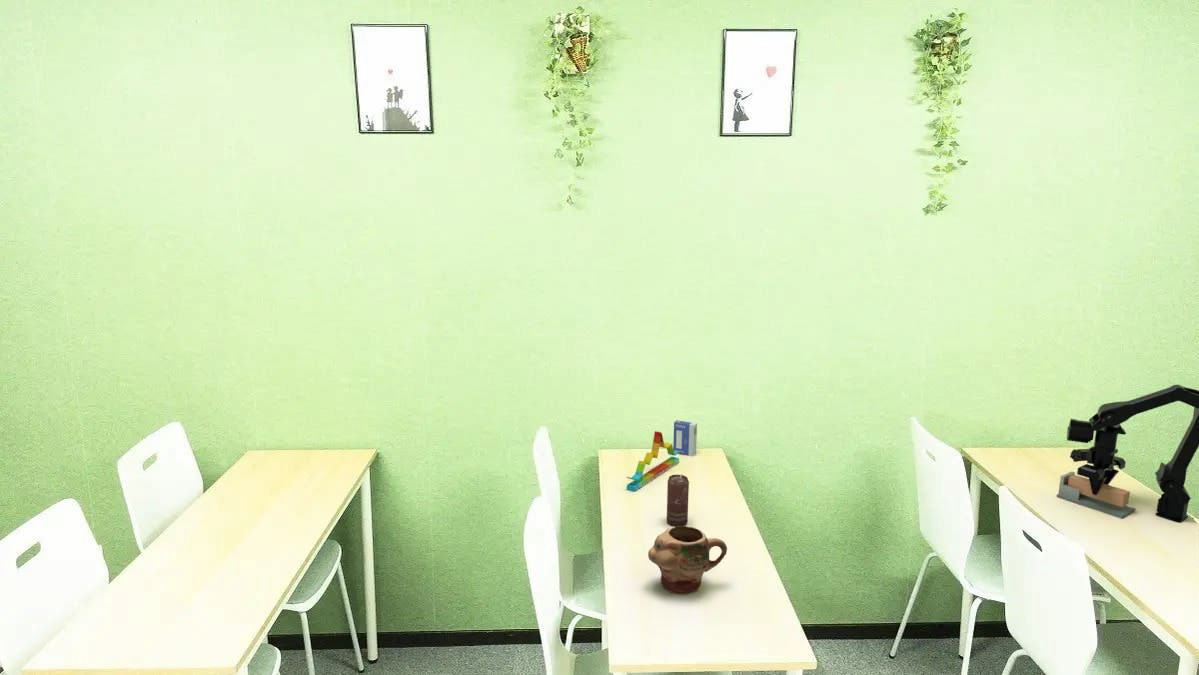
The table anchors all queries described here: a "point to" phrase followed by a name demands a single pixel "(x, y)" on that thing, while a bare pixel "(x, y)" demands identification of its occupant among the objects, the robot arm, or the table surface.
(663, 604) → the table surface
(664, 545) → the brown sculpted mug
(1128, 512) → the board
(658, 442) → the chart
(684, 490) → the can
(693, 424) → the walkman
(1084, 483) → the rail
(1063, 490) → the bracket
